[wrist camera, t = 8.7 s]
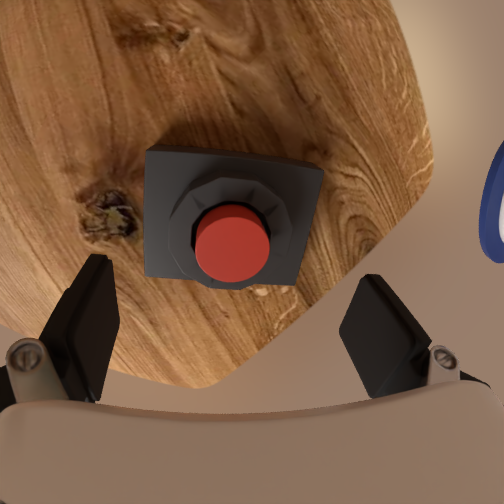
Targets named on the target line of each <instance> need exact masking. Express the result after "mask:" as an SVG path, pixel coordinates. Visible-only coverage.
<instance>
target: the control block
mask: <svg viewBox="0 0 504 504" xmlns="http://www.w3.org/2000/svg"><path fill="white" fill-rule="evenodd" d="M323 175H324V170H322V169H321V168H319V167H318V166H316V165H315V164H313V163H310V162H305V161H299V160H293V159H287V158H281V157H275V156H268V155H261V154H254V153H246V152H238V151H230V150H221V149H211V148H200V147H187V146H173V145H153V146H151V147H150V148H149V149H147V150H146V158H145V176H144V212H143V233H144V269H145V276H147V277H159V278H172V279H185V280H196V281H197V282H199V283H201V284H203V285H205V286H206V287H210V288H215V289H232V290H238V289H239V290H241V289H243V288H246V287H248V286H251V285H253V284H269V285H291V286H294V285H295V283H296V280H297V276H298V273H299V269H300V266H301V262H302V258H303V255H304V251H305V247H306V243H307V240H308V236H309V232H310V228H311V224H312V220H313V216H314V212H315V208H316V204H317V200H318V196H319V192H320V188H321V184H322V179H323ZM228 204H235V205H241V206H244V207H246V208H248V209H250V210H252V211H253V212H254V213H255V214H256V215H257V216H258V217H259V219H260V220H261V222H262V225H263V227H264V229H265V232H266V234H267V237H268V240H269V244H270V251H269V256H268V259H267V261H266V263H265V265H264V266H263V268H262V269H261V270H260V271H259V272H258V273H257V274H255V275H254V276H252V277H250V278H248V279H246V280H243V281H239V282H223V281H219V280H216V279H214V278H212V277H210V276H209V275H207V274H206V273H205V272H204V271H203V270H202V269H201V267H200V266H199V264H198V262H197V259H196V254H195V246H196V235H197V229H198V225H199V223H200V221H201V220H202V218H203V217H204V216H205V215H206V214H207V213H208V212H209V211H211V210H212V209H214V208H216V207H219V206H222V205H228Z"/></svg>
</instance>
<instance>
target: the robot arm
mask: <svg viewBox="0 0 504 504" xmlns="http://www.w3.org/2000/svg"><path fill="white" fill-rule="evenodd" d="M499 232H500V237H501V239H502V241H503V242H504V193H503V197H502V201H501V207H500V214H499ZM119 325H120V317H119V310H118V304H117V297H116V289H115V281H114V272H113V263H112V260H110V259H108V257H107V256H106V255H101V254H91V255H90V256H89V257H88V259H87V260H86V262H85V264H84V265H83V267H82V268H81V270H80V271H79V273H78V275H77V276H76V278H75V279H74V281H73V283H72V284H71V286H70V288H67V289H66V290H65V291H64V293H63V295H62V297H61V298H60V300H59V302H58V303H57V305H56V307H55V309H54V311H53V312H52V314H51V316H50V318H49V320H48V321H47V323H46V325H45V327H44V329H43V331H42V333H41V335H40V337H39V339H35V338H24V339H20V340H18V341H16V342H15V343H14V344H13V345H12V346H11V347H10V348H9V350H8V351H7V354H6V365H5V366H3V367H0V504H504V405H503V404H502V403H501V401H500V400H499V399H498V397H497V396H496V395H495V394H494V392H493V391H492V390H491V388H490V386H489V385H488V384H487V383H485V382H482V381H480V380H478V379H476V378H474V377H472V376H470V375H468V374H466V373H464V372H462V371H460V365H459V360H458V358H457V356H456V355H455V354H454V353H453V352H452V351H451V350H450V349H448V348H446V347H444V346H440V345H436V346H434V347H432V348H431V350H430V351H429V349H428V347H429V345H430V344H431V342H432V340H431V339H430V337H429V336H428V335H427V334H426V332H425V331H424V330H423V328H422V327H421V325H420V324H419V323H418V321H417V320H416V319H415V318H414V316H413V315H412V314H411V313H410V311H409V310H408V309H407V307H406V306H405V305H404V304H403V302H402V301H401V300H400V299H399V297H398V296H397V295H396V294H395V293H394V291H393V290H392V289H391V287H390V286H389V285H388V284H387V283H386V282H385V280H384V279H383V278H382V277H381V276H380V275H377V274H367V275H365V276H364V277H363V278H361V279H360V281H359V284H358V286H357V289H356V291H355V294H354V296H353V298H352V301H351V303H350V305H349V308H348V310H347V312H346V315H345V317H344V319H343V321H342V323H341V325H340V328H339V334H340V337H341V339H342V341H343V343H344V345H345V347H346V349H347V351H348V353H349V355H350V357H351V359H352V361H353V364H354V366H355V368H356V370H357V372H358V374H359V376H360V378H361V380H362V382H363V385H364V387H365V389H366V391H367V393H368V395H369V396H370V397H371V398H372V399H369V400H365V401H359V402H354V403H348V404H342V405H336V406H329V407H321V408H314V409H305V410H296V411H284V412H271V413H249V414H198V413H178V412H164V411H152V410H142V409H133V408H132V409H131V408H125V407H117V406H110V405H103V404H96V403H95V401H99V400H100V398H101V394H102V389H103V385H104V381H105V377H106V373H107V369H108V365H109V361H110V358H111V354H112V350H113V347H114V343H115V340H116V336H117V333H118V330H119Z"/></svg>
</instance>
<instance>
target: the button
mask: <svg viewBox="0 0 504 504" xmlns="http://www.w3.org/2000/svg"><path fill="white" fill-rule="evenodd" d="M269 251H270V244H269V240H268V237H267V234H266V232H265V229H264V227H263V225H262V222H261V220H260V219H259V217H258V216H257V215H256V214H255V213H254V212H253V211H252V210H250V209H248V208H246V207H244V206H241V205H235V204H228V205H222V206H219V207H216V208H214V209H212V210H211V211H209V212H208V213H207V214H206V215H205V216H204V217H203V218H202V220H201V221H200V223H199V225H198V229H197V235H196V246H195V254H196V259H197V262H198V264H199V266H200V267H201V269H202V270H203V271H204V272H205V273H206V274H207V275H209V276H210V277H212V278H214V279H216V280H219V281H223V282H239V281H243V280H246V279H248V278H250V277H252V276H254V275H255V274H257V273H258V272H259V271H260V270H261V269H262V268H263V266H264V265H265V263H266V261H267V259H268V256H269Z"/></svg>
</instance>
